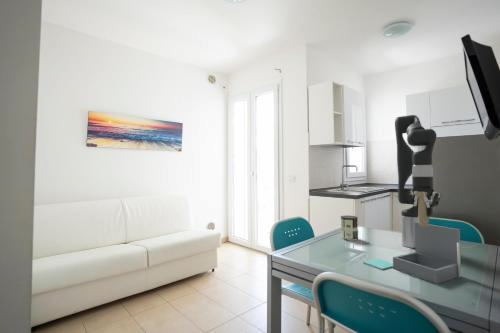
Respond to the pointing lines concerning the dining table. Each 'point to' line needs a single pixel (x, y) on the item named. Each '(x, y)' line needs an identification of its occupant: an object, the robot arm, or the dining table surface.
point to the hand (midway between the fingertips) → (423, 215)
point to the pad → (379, 264)
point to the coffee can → (349, 227)
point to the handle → (422, 210)
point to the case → (432, 254)
